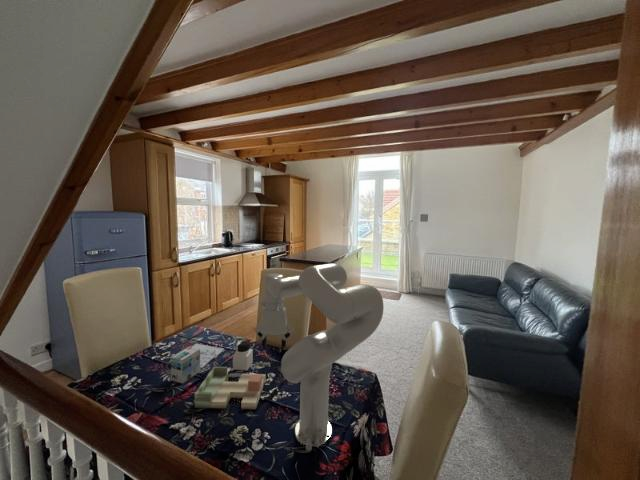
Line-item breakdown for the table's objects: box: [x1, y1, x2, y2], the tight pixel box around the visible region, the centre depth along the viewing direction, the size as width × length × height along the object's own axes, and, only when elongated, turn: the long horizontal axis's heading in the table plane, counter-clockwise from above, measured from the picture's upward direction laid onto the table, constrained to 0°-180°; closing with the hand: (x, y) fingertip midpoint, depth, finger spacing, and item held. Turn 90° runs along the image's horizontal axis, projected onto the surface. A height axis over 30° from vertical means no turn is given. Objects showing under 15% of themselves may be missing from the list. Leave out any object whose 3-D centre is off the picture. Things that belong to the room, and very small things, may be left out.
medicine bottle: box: [232, 340, 253, 372], centre depth 127 cm, size 7×7×12 cm
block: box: [248, 375, 262, 391], centre depth 108 cm, size 4×4×4 cm
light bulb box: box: [170, 346, 201, 384], centre depth 119 cm, size 11×7×11 cm, turn 161°
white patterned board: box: [168, 343, 225, 370], centre depth 136 cm, size 19×20×2 cm
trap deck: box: [194, 366, 267, 410], centre depth 108 cm, size 18×23×6 cm
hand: (273, 347), depth 107 cm, fingers open, 6 cm apart
